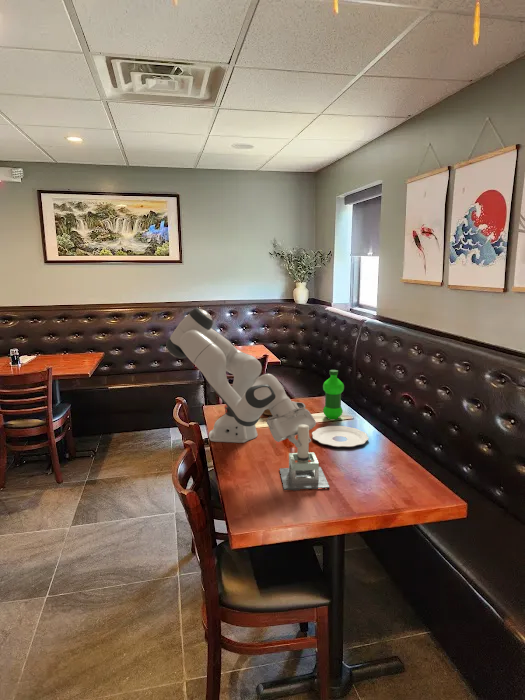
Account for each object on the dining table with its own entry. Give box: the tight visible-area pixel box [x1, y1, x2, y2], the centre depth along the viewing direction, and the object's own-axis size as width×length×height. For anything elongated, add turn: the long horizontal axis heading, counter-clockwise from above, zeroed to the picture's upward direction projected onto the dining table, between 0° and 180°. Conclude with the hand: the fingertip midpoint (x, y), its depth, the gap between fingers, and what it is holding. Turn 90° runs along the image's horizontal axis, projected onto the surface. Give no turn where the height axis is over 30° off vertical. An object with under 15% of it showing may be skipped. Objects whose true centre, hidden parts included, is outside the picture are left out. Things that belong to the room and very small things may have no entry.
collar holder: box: [279, 451, 330, 491], centre depth 162 cm, size 16×16×8 cm
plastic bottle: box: [322, 369, 345, 420], centre depth 226 cm, size 10×10×25 cm
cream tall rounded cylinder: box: [296, 424, 310, 471], centre depth 160 cm, size 4×4×16 cm
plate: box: [311, 425, 370, 448], centre depth 201 cm, size 25×25×2 cm
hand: (304, 444), depth 160 cm, fingers closed on cream tall rounded cylinder, 4 cm apart
